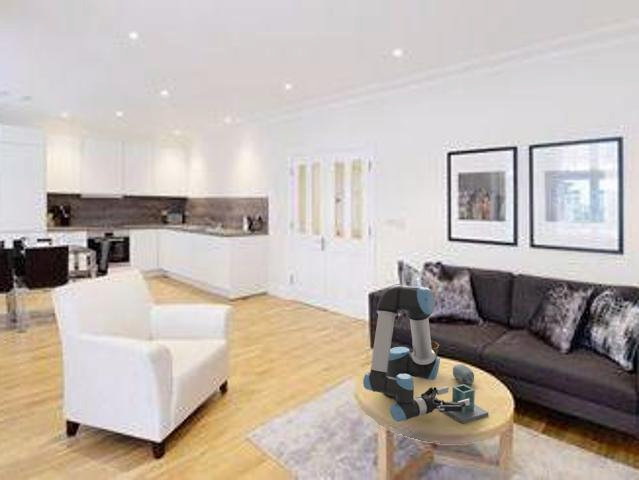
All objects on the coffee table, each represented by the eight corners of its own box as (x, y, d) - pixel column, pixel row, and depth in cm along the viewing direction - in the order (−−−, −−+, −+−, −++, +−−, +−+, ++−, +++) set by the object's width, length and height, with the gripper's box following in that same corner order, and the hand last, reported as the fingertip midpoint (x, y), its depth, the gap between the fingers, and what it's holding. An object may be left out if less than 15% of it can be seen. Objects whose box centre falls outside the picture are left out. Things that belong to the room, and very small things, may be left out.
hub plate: (438, 407, 212) (438, 389, 211) (463, 400, 219) (463, 383, 218) (462, 423, 198) (462, 404, 197) (488, 415, 205) (489, 396, 203)
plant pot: (406, 368, 258) (406, 341, 256) (427, 364, 264) (427, 338, 262) (422, 378, 245) (422, 350, 243) (443, 373, 251) (444, 346, 249)
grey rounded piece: (481, 380, 234) (471, 363, 235) (466, 389, 233) (457, 373, 233) (469, 375, 248) (460, 359, 248) (455, 384, 246) (446, 368, 247)
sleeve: (452, 406, 210) (452, 386, 208) (463, 403, 213) (463, 383, 211) (462, 413, 203) (463, 393, 202) (474, 410, 206) (474, 389, 205)
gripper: (404, 401, 207) (439, 392, 217) (441, 426, 185) (478, 415, 195) (404, 386, 207) (439, 377, 216) (441, 410, 184) (478, 399, 194)
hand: (458, 395), depth 205 cm, fingers open, 13 cm apart
